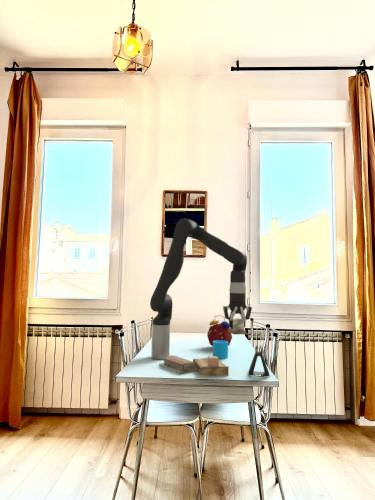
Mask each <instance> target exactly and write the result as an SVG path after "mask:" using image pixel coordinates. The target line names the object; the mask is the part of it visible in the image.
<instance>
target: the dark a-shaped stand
mask: <svg viewBox="0 0 375 500" xmlns="http://www.w3.org/2000/svg"><path fill="white" fill-rule="evenodd" d="M254 349H255V351H254V355H253V356H252V357H253V358H252V360H251V363H250V367H249V369H248V376H249V375H261V376H260V377H264V376H269V377H270V376H271V375H270V371H269V368H268V367H267V363H266V361H265V358H264V355H263V351H264V350H263V347H262V346H261V345H259V346H258V345H256V346H255V348H254ZM258 349H260V351H258ZM258 357H260V360H261V365H262V367H263V371H255V368H256V363H257V361H258ZM269 377H268V378H269Z"/></svg>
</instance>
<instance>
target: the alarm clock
mask: <svg viewBox="0 0 375 500" xmlns="http://www.w3.org/2000/svg"><path fill="white" fill-rule="evenodd" d="M217 317H222V318H223V321H222V322H221V323H220V322H219V321H220V320H219V319H218V320H216V318H217ZM229 328H230V327H229V321H227V320H226V318H225V316H223V315H220V314H219V315H215V316H214V319H212V321H210V322H209V328H208V332H207V334H206V336H207V339H208V344H209V345H210V346H211V347H213V341H216V340H223V341H228V347H229V346H230V345H231V341H232V340H233V335H232V333H230V332H228V329H229Z"/></svg>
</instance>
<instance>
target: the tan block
mask: <svg viewBox="0 0 375 500" xmlns="http://www.w3.org/2000/svg"><path fill="white" fill-rule="evenodd" d="M232 321H233V329H231V328H229V329H228V332H230V333H231V334H233V335H247V330H245V327H244V319H242V318H241V317H238V318H237V317H235V318H234V317H233V320H232Z"/></svg>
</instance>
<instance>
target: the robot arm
mask: <svg viewBox="0 0 375 500" xmlns="http://www.w3.org/2000/svg"><path fill="white" fill-rule="evenodd" d="M173 231H174V232H173V237H172V241H171V244H170V247H169V250H168V253H167V256H166V259H165V262H164V264H163V267H162V272H161V274H160V276H159V279H158V281H157V284H156V286H155V289H154V291H153V294H152V296H151V297H150V301H149V306H150V309H151V310H152V311H153V312H156V313H157V314H156V316H155V317H154V318H152V331H151V333H152V338H151V354H150V355H151V359H154V360H164V359H165V358H166V357H169V356H170V347H171V346H170V344H171V343H170V342H171V341H170V340H171V339H170V337H171V335H170V334H171V320H172V316H173V298H172V296H171V295H170V294H169V293H168V291H169V289H170V288H171V286H172V285H173V283H175V281H176V280H177V279H178V277H179V276H180V273H181V271H182V269H183V266H184V257H185V255H184V249H185V245H186V242H187V240H188V238H192V239H194V240H197V241H199V242H200V243H201V244H203V245H204V246H205V247H207V249H209V250H210V251H212V252H213V253H215V254H217V255H219V256H221V257H222V258H223V259H225V260H226V261H227V262H229V263H231V264H232V270H231V271H230V277H229V279H230V281H229V304H228V305H226V306H225V305H224V306H222V309H223V310H222V311H223V315H224V317H225V320H228V323H229V327H230V328H231V329H233V321H232V320H233V318H234V317H235V316H236V315H237V314H239V315H240V318H241V319H244V328H246V321H247V320H250V318H251V314H252V311H253V307H252V306H248V305H247V304H246V300H247V299H246V292H247V291H246V287H247V286H246V270H247V264H248V257H247V254H246V252H244V251H243V250H239V249H237V248H235V247H233V246H231V244H229V243H228V242H226V241H225V240H222V239H221V238H220V237H217V236H215V235H213V234H212V233H210V232H208V231H207V230H206V229H204V228H202V227H201V226H200V225H199V224H198V223H197V222H195V221H194V220H192V219H189V218H181V219H179V220H178V221H177V223H176V225H175V228H174V230H173ZM229 310H230V313H229ZM245 310H246V314H245Z"/></svg>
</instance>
